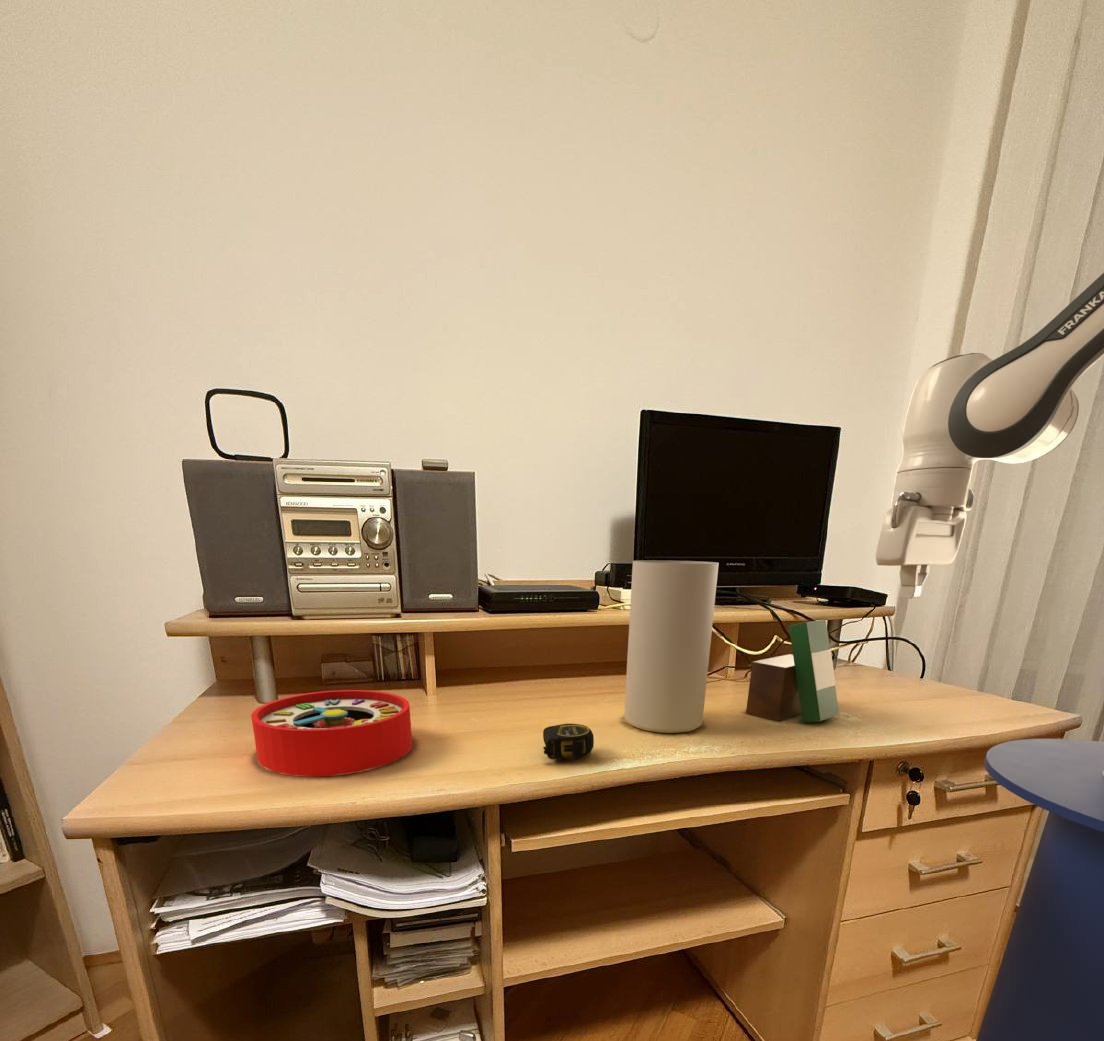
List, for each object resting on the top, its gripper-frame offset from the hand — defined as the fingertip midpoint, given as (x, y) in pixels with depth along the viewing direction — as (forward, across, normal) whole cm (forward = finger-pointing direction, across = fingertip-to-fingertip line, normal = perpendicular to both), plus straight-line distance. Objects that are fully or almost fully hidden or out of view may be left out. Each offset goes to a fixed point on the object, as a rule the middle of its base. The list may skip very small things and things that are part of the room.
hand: (909, 598), depth 84 cm
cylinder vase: (+20, -23, +25) cm, 40 cm away
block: (+20, -1, +17) cm, 26 cm away
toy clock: (+20, -69, +44) cm, 85 cm away
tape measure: (+20, -46, +23) cm, 56 cm away
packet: (+12, -1, +12) cm, 17 cm away
